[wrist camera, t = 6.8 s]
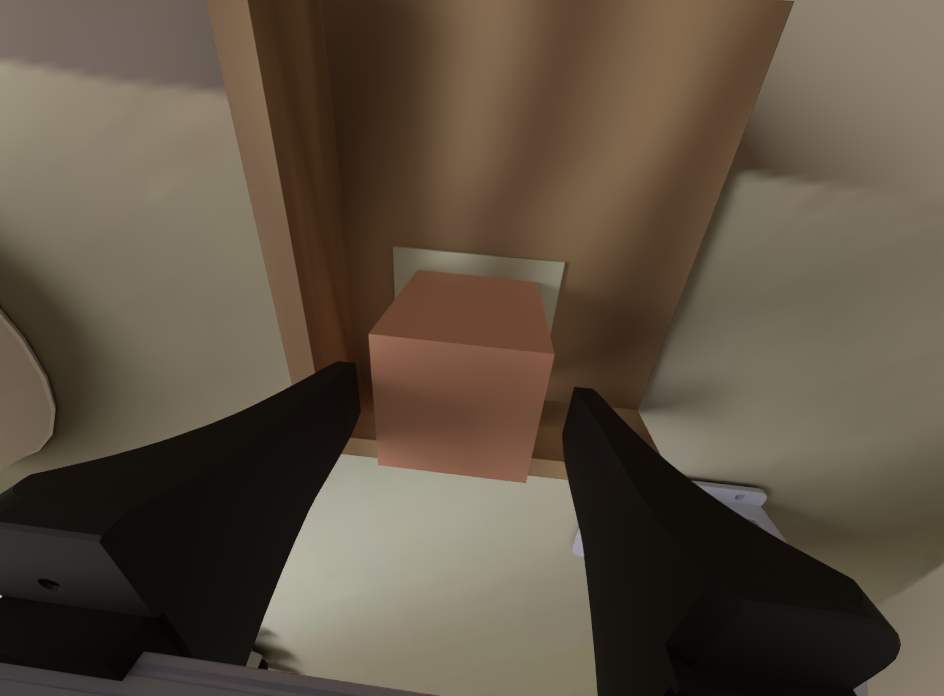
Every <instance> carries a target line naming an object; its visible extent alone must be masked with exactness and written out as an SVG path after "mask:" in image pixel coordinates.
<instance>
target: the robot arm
mask: <svg viewBox="0 0 944 696" xmlns="http://www.w3.org/2000/svg"><path fill="white" fill-rule="evenodd" d="M360 413H361V408H360V399H359V389H358V380H357V371H356V363H351V362H342V361H337V362H335V363H333V364H331V365H329V366H327V367H325V368H323V369H321V370H319V371H318V372H316V373H314V374H312V375H310V376H309V377H307V378H305V379H303V380H301V381H300V382H298V383H296V384H294V385H292V386H290V387H289V388H287V389H285V390H283V391H281V392H279V393H277V394H275V395H273V396H271V397H269V398H267V399H265V400H263V401H261V402H259V403H257V404H255V405H253V406H251V407H249V408H247V409H245V410H243V411H240V412H238V413H236V414H234V415H231V416H229V417H226V418H224V419H221V420H219V421H217V422H214V423H212V424H209V425H206V426H204V427H201V428H198V429H195V430H192V431H189V432H187V433H184V434H181V435H178V436H175V437H172V438H169V439H167V440H163V441H160V442H157V443H154V444H150V445H147V446H144V447H141V448H137V449H134V450H130V451H126V452H123V453H119V454H116V455H112V456H108V457H104V458H100V459H96V460H92V461H88V462H84V463H79V464H75V465H71V466H66V467H62V468H58V469H54V470H49V471H45V472H40V473H35V474H31V475H29V476H27V477H26V478H24V479H22V480H21V481H20V482H18V483H17V484H15V485H14V486H12V487H11V488H9V489H8V490H6V491H5V492H3V493H2V494H0V595H1V596H3V597H1V598H0V696H438V695H431V694H424V693H418V692H411V691H404V690H398V689H391V688H384V687H378V686H371V685H364V684H358V683H351V682H345V681H338V680H331V679H325V678H318V677H311V676H305V675H298V674H291V673H285V672H278V671H271V670H265V669H258V668H252V667H246V665H247V662H248V659H249V656H250V654H251V651H252V648H253V645H254V643H255V640H256V637H257V635H258V632H259V629H260V626H261V624H262V621H263V618H264V615H265V613H266V610H267V608H268V605H269V603H270V600H271V598H272V595H273V593H274V590H275V588H276V585H277V583H278V580H279V578H280V575H281V573H282V570H283V568H284V566H285V563H286V561H287V559H288V556H289V554H290V552H291V549H292V547H293V545H294V542H295V540H296V538H297V536H298V533H299V531H300V529H301V527H302V525H303V522H304V520H305V518H306V516H307V514H308V512H309V509H310V507H311V506H312V504H313V502H314V500H315V498H316V496H317V494H318V493H319V491H320V489H321V488H322V486H323V484H324V482H325V481H326V479H327V477H328V476H329V474H330V472H331V470H332V469H333V467H334V465H335V464H336V462H337V460H338V458H339V457H340V455H341V453H342V452H343V450H344V448H345V446H346V445H347V443H348V441H349V439H350V437H351V435H352V433H353V430H354V428H355V426H356V423H357V420H358V418H359V415H360ZM562 442H563V453H564V463H565V468H566V472H567V477H568V481H569V486H570V490H571V494H572V498H573V503H574V507H575V511H576V516H577V520H578V524H579V529H578V532H577V535H576V538H575V540H574V543H573V546H572V548H573V553H574V554H575V555H577V556H583V557H584V560H585V568H586V576H587V584H588V593H589V602H590V611H591V621H592V632H593V643H594V654H595V665H596V679H597V692H598V696H867V691H868V689H867V680H868V679H870V678H871V677H873V676H874V675H876V674H877V673H879V672H880V671H882V670H883V669H885V668H886V667H887V666H888V665H890V664H891V663H892V662H893V661H894V660H895V659H896V657H897V655H898V653H899V650H900V646H901V643H900V639H899V635H898V633H897V632H896V631H895V630H894V628H893V627H892V626H891V625H890V624H889V622H888V621H887V620H886V619H885V618H884V616H883V615H882V614H881V613H880V611H879V610H878V609H877V608H876V606H875V605H874V604H873V603H872V602H871V600H870V599H869V598H868V597H867V595H866V594H865V593H864V592H863V591H862V589H861V588H860V587H859V586H858V584H857V583H856V582H855V581H854V580H853V579H851V578H850V577H848V576H846V575H844V574H842V573H840V572H838V571H837V570H835V569H833V568H831V567H829V566H827V565H826V564H824V563H822V562H820V561H818V560H816V559H814V558H813V557H811V556H809V555H807V554H805V553H803V552H801V551H800V550H798V549H796V548H794V547H792V546H791V545H789V544H788V543H787V541H786V540H785V539H784V537H783V536H782V534H781V533H780V532H779V530H778V529H777V528H776V526H775V525H774V523H773V522H772V521H771V519H770V518H769V517H768V515H767V514H766V513H765V511H764V510H763V508H762V507H761V506H762V505H763V504H764V502H765V501H766V499H767V495H766V494H765V492H764V491H763V490H762V489H759V488H752V487H743V486H734V485H726V484H717V483H708V482H699V481H691V480H690V479H689V478H687V477H686V476H685V475H684V474H682V473H681V472H680V471H678V470H677V469H676V468H675V467H673V466H672V465H671V464H670V463H669V462H667V461H666V460H665V459H664V458H663V457H662V456H660V455H659V454H658V453H657V452H656V451H655V450H654V449H653V448H652V447H650V446H649V445H648V444H647V443H646V442H645V441H644V440H643V439H642V438H641V437H640V436H639V435H638V434H637V433H636V432H635V431H634V430H633V429H632V428H631V427H630V426H629V425H628V424H627V423H626V422H625V421H624V420H623V419H622V418H621V417H620V416H619V415H618V414H617V413H616V412H615V411H614V410H613V409H612V408H611V407H610V405H609V404H608V403H607V402H606V401H605V400H604V399H603V398H602V397H601V396H600V395H599V394H598V393H597V392H596V391H595V390H594V389H591V388H582V387H574V390H573V394H572V397H571V401H570V405H569V409H568V413H567V417H566V421H565V425H564V428H563V432H562Z"/></svg>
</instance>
